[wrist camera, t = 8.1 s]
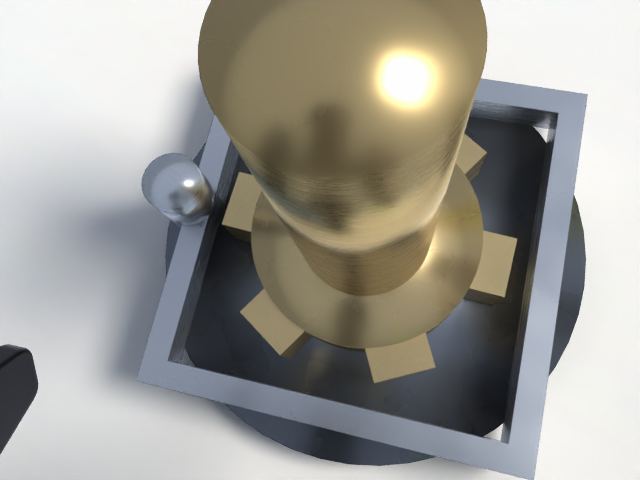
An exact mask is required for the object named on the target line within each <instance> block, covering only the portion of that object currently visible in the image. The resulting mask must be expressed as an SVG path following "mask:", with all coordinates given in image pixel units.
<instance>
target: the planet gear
mask: <svg viewBox="0 0 640 480" xmlns="http://www.w3.org/2000/svg"><path fill="white" fill-rule="evenodd" d="M486 52H487V27H486V20H485V14H484V11H483V7H482V4H481V0H211V2H210V4H209V7H208V9H207V11H206V13H205V17H204V20H203V23H202V27H201V31H200V37H199V44H198V66H199V73H200V79H201V83H202V86H203V89H204V93H205V96H206V98H207V100H208V102H209V104H210V106H211V109H212V110H213V112H214V114H215V115H216V117H217V119H218V120H219V122H220V123H221V125H222V127H223V128H224V130H225V131H226V133H227V135H228V136H229V138H230V139H231V141H232V143H233V144H234V146H235V148H236V149H237V151H238V152H239V154H240V156H241V157H242V159H243V160H244V162H245V164H246V165H247V167H248V168H249V170H250V172H251V173H252V175H250V174H246V173H242V172H239V174H238V177H237V180H236V183H235V186H234V189H233V192H232V195H231V198H230V201H229V204H228V207H227V210H226V213H225V216H224V219H223V222H222V225H223V226H224V227H225V228H226V229H227V230H228V231H229V232H230V233H231V234H232V235H233V236H234V237H235V238H236V239H239V240H243V241H247V242H251V246H252V253H253V259H254V263H255V267H256V270H257V273H258V276H259V278H260V280H261V283H262V285H263V287H264V289H263V290H262V291H261V292H260V293H259V294H258V295H257V296H256V297H255V298H254V299H253V300H252V301H251V302H250V303H248V304H247V305H246V306H245V307H244V308H243V309H242V310H241V311H240V312H241V314H242V315H243V316H244V317H245V318H246V319H247V320H248V321H249V322H250V323H251V324H252V326H253V327H254V328H255V329H256V330H257V331H258V332H259V333H260V334H261V335H262V336H263V337H264V339H265V340H266V341H267V342H268V343H269V344H270V345H271V346H272V347H273V348H274V349H275V351H276V352H277V353H278V354H279V355H280V356H283V357H286V358H289V359H290V358H291V357H292V356H293V355H294V354H295V353H296V352H297V351H298V350H299V349H300V348H301V347H302V346H303V345H304V344H305V343H306V342H307V341H308V340H309V339H310V338H311V337H312V336H313V337H314V338H316V339H318V340H320V341H322V342H324V343H326V344H329V345H332V346H334V347H337V348H341V349H346V350H350V351H359V352H366V354H367V358H368V362H369V366H370V369H371V373H372V377H373V381H374V383H375V384H377V383H381V382H385V381H388V380H392V379H396V378H400V377H404V376H408V375H412V374H416V373H420V372H424V371H428V370H431V369H433V368H436V367H435V363H434V360H433V356H432V353H431V350H430V346H429V343H428V339H427V336H426V335H427V334H429V333H430V332H432V331H433V330H434V329H435V328H437V327H438V326H439V325H440V324H441V323H442V322H443V321H445V319H446V318H447V317H448V316H449V315H450V314H451V312H452V311H453V310H454V309H455V308H456V306H457V305H458V304H459V303H460V302H461V300H462V299H463V298H465V299H469V300H473V301H476V302H480V303H484V304H488V305H492V306H494V305H495V304H497V303H498V302H499V301H500V300H502V299H503V298H504V297H505V293H506V288H507V284H508V279H509V275H510V270H511V266H512V261H513V256H514V252H515V247H516V243H517V238H513V237H508V236H504V235H500V234H496V233H492V232H488V231H483V222H482V214H481V211H480V207H479V203H478V200H477V197H476V195H475V192H474V190H473V187H472V186H471V184H470V181H471V180H472V179H473V178H474V177H475V176H476V175H477V174H478V173H479V170H480V168H481V166H482V163H483V161H484V159H485V156H486V154H487V152H486V151H485V150H484V149H482V148H481V147H480V146H479V145H478V144H477V143H475V142H474V141H473V140H472V139H471V138H469V137H468V136H467V135H466V134H465V133H464V132H465V128H466V125H467V122H468V118H469V115H470V112H471V109H472V105H473V102H474V99H475V95H476V92H477V89H478V85H479V82H480V79H481V75H482V72H483V69H484V64H485V58H486Z"/></svg>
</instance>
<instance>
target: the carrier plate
mask: <svg viewBox="0 0 640 480" xmlns="http://www.w3.org/2000/svg"><path fill="white" fill-rule="evenodd" d="M587 95H588V94H582V93H575V92H568V91H562V90H555V89H548V88H542V87H535V86H528V85H522V84H515V83H508V82H501V81H495V80H488V79H480V82H479V85H478V89H477V92H476V95H475V99H474V102H473V105H472V109H471V112H470V115H469V118H468V122H467V125H466V128H465V132H464V133H465V134H466V135H467V136H468V137H469V138H471V139H472V140H473V141H474V142H475V143H477V144H478V145H479V146H480V147H481V148H482V149H484V150H485V151H486V152H487V154H486V156H485V159H484V161H483V163H482V166H481V168H480V170H479V173H478V174H477V175H476V176H475V177H474V178H473V179H472V180H471V181H470V184H471V186H472V187H473V190H474V192H475V195H476V197H477V200H478V203H479V207H480V211H481V214H482V222H483V231H488V232H492V233H496V234H500V235H504V236H508V237H513V238H517V243H516V247H515V252H514V256H513V261H512V266H511V270H510V275H509V279H508V284H507V288H506V293H505V297H504V298H503V299H502V300H500V301H499V302H498V303H497V304H495V305H494V306H492V305H488V304H484V303H480V302H476V301H473V300H469V299H465V298H463V299H462V300H461V302H460V303H459V304H458V305H457V306H456V308H455V309H454V310H453V311H452V312H451V314H450V315H449V316H448V317H447V318H446V319H445V321H443V322H442V323H441V324H440V325H439V326H438V327H437V328H435V329H434V330H433V331H432V332H430V333H429V334H427V335H426V336H427V339H428V343H429V346H430V350H431V353H432V356H433V360H434V363H435V367H436V368H433V369H431V370H428V371H424V372H420V373H416V374H412V375H408V376H404V377H400V378H396V379H392V380H388V381H385V382H381V383H377V384H375V383H374V381H373V377H372V373H371V369H370V366H369V362H368V358H367V354H366V352H359V351H350V350H346V349H341V348H337V347H334V346H332V345H329V344H326V343H324V342H322V341H320V340H318V339H316V338H314V337H313V336H312V337H311V338H310V339H309V340H308V341H307V342H306V343H305V344H304V345H303V346H302V347H301V348H300V349H299V350H298V351H297V352H296V353H295V354H294V355H293V356H292V357H291V358H290V359H289V358H286V357H283V356H280V355H279V354H278V353H277V352H276V351H275V349H274V348H273V347H272V346H271V345H270V344H269V343H268V342H267V341H266V340H265V339H264V337H263V336H262V335H261V334H260V333H259V332H258V331H257V330H256V329H255V328H254V327H253V326H252V324H251V323H250V322H249V321H248V320H247V319H246V318H245V317H244V316H243V315H242V314H241V312H240V311H241V310H242V309H243V308H244V307H245V306H246V305H247V304H248V303H250V302H251V301H252V300H253V299H254V298H255V297H256V296H257V295H258V294H259V293H260V292H261V291H262V290H263V289H264V287H263V285H262V283H261V280H260V278H259V276H258V273H257V270H256V267H255V263H254V259H253V253H252V246H251V242H247V241H243V240H239V239H236V238H235V237H234V236H233V235H232V234H231V233H230V232H229V231H228V230H227V229H226V228H225V227H224V226H223V225H222V222H223V219H224V216H225V213H226V210H227V207H228V204H229V201H230V198H231V195H232V192H233V189H234V186H235V183H236V180H237V177H238V174H239V172H242V173H246V174H250V175H252V173H251V172H250V170H249V168H248V167H247V165H246V164H245V162H244V160H243V159H242V157H241V156H240V154H239V152H238V151H237V149H236V148H235V146H234V144H233V143H232V141H231V139H230V138H229V136H228V135H227V133H226V131H225V130H224V128H223V127H222V125H221V123H220V122H219V120H218V119H217V117H216V115H214V118H213V121H212V125H211V128H210V132H209V135H208V138H207V141H206V143H205V144H204V146H203V147H202V149H201V150H200V152H199V153H198V155H197V156H196V157H195V159H194V161H192V160H191V159H190V158H188V157H187V156H184V155H182V154H177V153H170V154H165V155H162V156H160V157H158V158H156V159H155V160H153V161H152V162H151V163H150V164H149V165H148V167H147V168H146V170H145V172H144V174H143V178H142V191H143V194H144V196H145V198H146V199H147V200H148V202H149V203H151V204H152V205H153V206H154V207H156V208H157V209H158V210H159V211H161V212H162V213H163V214H164V215H165V216H167V217H168V218H169V219H170V224H169V228H168V236H167V246H166V281H165V284H164V288H163V291H162V294H161V298H160V301H159V305H158V308H157V311H156V315H155V318H154V322H153V325H152V328H151V332H150V335H149V339H148V342H147V345H146V349H145V352H144V356H143V359H142V362H141V366H140V369H139V372H138V376H137V379H136V381H139V382H143V383H147V384H151V385H155V386H159V387H163V388H167V389H171V390H175V391H179V392H183V393H187V394H191V395H195V396H199V397H203V398H206V399H210V400H214V401H218V402H222V403H224V404H225V405H227V406H228V407H229V408H230V409H231V410H232V411H233V412H234V413H235V414H237V415H238V416H239V417H240V418H241V419H242V420H243V421H245V422H246V423H248V424H249V425H251V426H252V427H254V428H255V429H256V430H258V431H259V432H261V433H262V434H264V435H265V436H267V437H269V438H271V439H273V440H275V441H277V442H279V443H281V444H283V445H285V446H287V447H289V448H291V449H293V450H296V451H299V452H302V453H305V454H308V455H311V456H314V457H317V458H320V459H325V460H330V461H335V462H341V463H346V464H355V465H376V466H382V465H393V464H404V463H412V462H416V461H420V460H424V459H429V458H433V457H441V458H445V459H449V460H453V461H457V462H461V463H465V464H469V465H473V466H477V467H481V468H485V469H489V470H492V471H496V472H500V473H504V474H508V475H512V476H516V477H520V478H524V479H528V480H534V476H535V469H536V461H537V454H538V447H539V440H540V433H541V425H542V418H543V411H544V404H545V397H546V390H547V382H548V377H549V375H550V374H551V372H552V371H553V370H554V368H555V367H556V365H557V363H558V361H559V359H560V357H561V356H562V354H563V352H564V350H565V348H566V346H567V344H568V342H569V340H570V337H571V334H572V331H573V329H574V326H575V323H576V320H577V318H578V315H579V310H580V305H581V300H582V295H583V290H584V282H585V265H586V255H585V242H584V231H583V227H582V222H581V218H580V213H579V209H578V204H577V202H576V199H575V196H574V189H575V182H576V174H577V167H578V160H579V153H580V146H581V139H582V131H583V124H584V117H585V110H586V103H587ZM533 126H534V127H540V128H546V129H549V130H548V136H547V143H546V142H545V140H544V139H543V138H542V136H541V135H540V134H539V133H538V132H537V130H536V129H535V128H534V127H533ZM184 348H186V350H187V353H188V355H189V357H190V359H191V360H192V362H193V363H194V365H195V366H192V365H187V364H183V363H180V362H181V359H182V355H183V351H184ZM502 423H503V429H502V436H501V441H500V440H496V439H491V438H487V437H483V436H484V435H486V434H488V433H490V432H491V431H493V430H495V429H496V428H497V427H499V426H500V425H501V424H502Z"/></svg>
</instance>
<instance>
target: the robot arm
mask: <svg viewBox="0 0 640 480" xmlns="http://www.w3.org/2000/svg"><path fill="white" fill-rule="evenodd" d="M37 390H38V379H37V375H36V370H35V366H34V361H33V356H32V353H31V352H30V351H29V350H28V349H26V348H22V347H18V346H15V345H10V344H6V345H2V346H0V454H1V453H2V451H3V449H4V448H5V446H6V444H7V443H8V441H9V439H10V438H11V436H12V434H13V433H14V431H15V429H16V428H17V426H18V424H19V423H20V421H21V419H22V418H23V416H24V415H25V413H26V411H27V410H28V408H29V406H30V405H31V403H32V401H33V400H34V398H35V396H36V393H37Z"/></svg>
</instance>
